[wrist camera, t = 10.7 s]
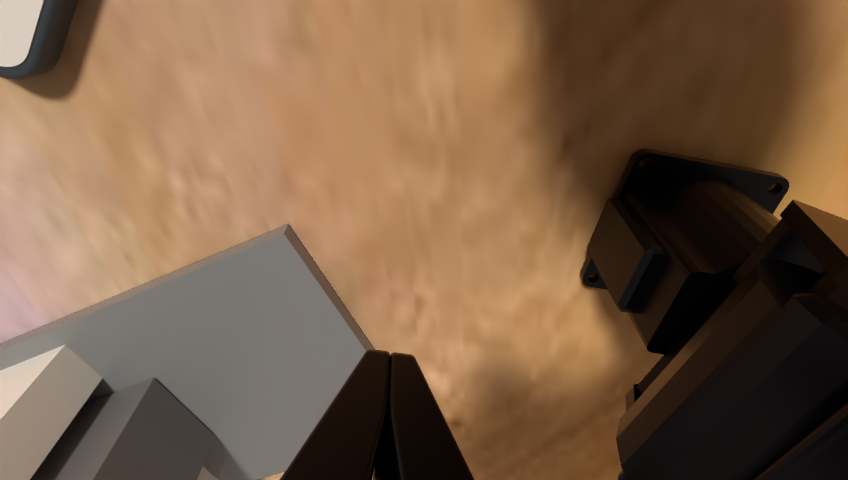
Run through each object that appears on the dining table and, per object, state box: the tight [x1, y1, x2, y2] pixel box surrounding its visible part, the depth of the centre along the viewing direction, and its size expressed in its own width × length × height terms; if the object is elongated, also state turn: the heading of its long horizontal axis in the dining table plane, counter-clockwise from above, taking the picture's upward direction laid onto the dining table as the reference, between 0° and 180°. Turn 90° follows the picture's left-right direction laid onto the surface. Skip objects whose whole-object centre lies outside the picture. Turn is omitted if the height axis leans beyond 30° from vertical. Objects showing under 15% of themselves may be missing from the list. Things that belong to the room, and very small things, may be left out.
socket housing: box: [0, 224, 375, 480], centre depth 23 cm, size 19×14×9 cm
